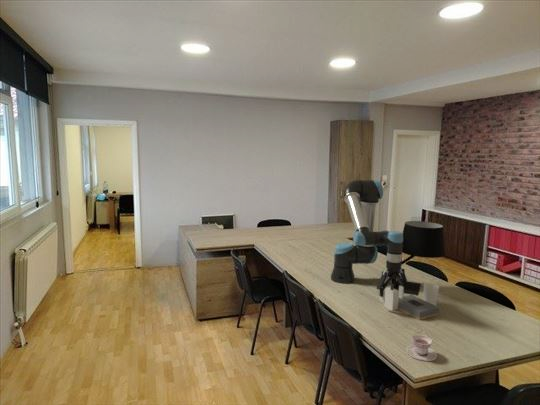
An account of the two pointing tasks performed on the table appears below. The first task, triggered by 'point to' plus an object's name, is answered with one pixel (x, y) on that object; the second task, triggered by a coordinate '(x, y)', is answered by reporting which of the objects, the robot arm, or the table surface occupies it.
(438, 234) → the table lamp
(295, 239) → the table surface
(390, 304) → the plug
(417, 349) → the teacup
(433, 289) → the white cup
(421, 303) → the socket box
